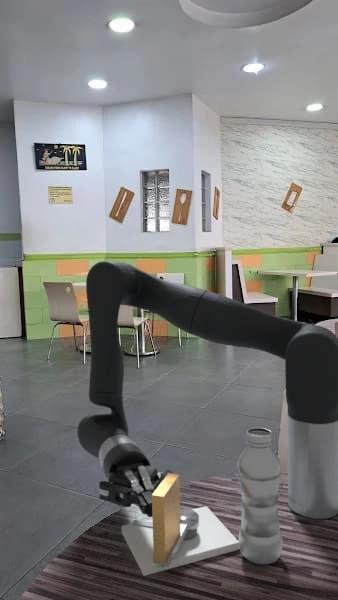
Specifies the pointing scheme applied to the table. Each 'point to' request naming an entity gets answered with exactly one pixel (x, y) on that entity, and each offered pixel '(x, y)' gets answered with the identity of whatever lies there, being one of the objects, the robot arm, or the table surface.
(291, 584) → the table surface
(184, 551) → the base plate
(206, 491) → the table surface
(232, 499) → the table surface
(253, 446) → the plastic bottle
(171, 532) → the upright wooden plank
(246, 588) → the table surface
